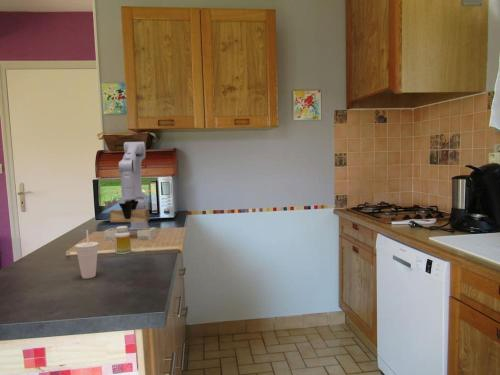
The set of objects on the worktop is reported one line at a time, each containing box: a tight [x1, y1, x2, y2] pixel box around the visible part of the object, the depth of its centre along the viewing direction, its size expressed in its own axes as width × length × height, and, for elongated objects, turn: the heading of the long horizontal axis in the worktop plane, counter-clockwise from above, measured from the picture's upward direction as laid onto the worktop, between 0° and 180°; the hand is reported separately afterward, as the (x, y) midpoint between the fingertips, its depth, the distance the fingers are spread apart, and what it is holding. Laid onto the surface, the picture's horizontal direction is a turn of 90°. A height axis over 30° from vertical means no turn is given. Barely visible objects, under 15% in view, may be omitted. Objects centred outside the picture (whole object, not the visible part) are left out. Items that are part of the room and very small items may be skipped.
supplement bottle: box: [114, 225, 132, 255], centre depth 130 cm, size 5×5×10 cm
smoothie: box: [74, 229, 100, 280], centre depth 102 cm, size 6×6×14 cm
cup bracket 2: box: [136, 227, 157, 241], centre depth 154 cm, size 7×6×4 cm
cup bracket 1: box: [103, 227, 117, 241], centre depth 155 cm, size 7×6×4 cm
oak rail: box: [109, 208, 150, 223], centre depth 154 cm, size 4×16×5 cm, turn 87°
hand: (129, 217), depth 154 cm, fingers closed on oak rail, 4 cm apart
